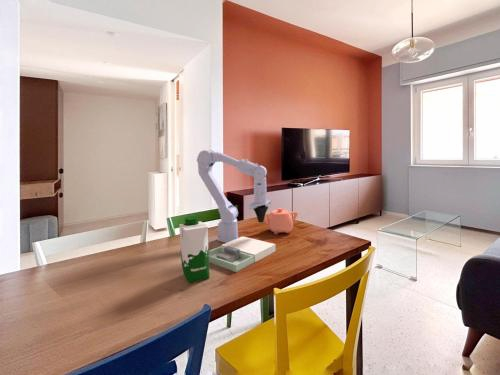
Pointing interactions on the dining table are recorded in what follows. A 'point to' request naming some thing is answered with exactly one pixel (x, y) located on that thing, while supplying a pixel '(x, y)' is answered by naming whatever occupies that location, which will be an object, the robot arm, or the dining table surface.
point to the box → (235, 266)
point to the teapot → (280, 221)
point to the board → (252, 247)
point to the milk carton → (194, 250)
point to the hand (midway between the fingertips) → (260, 221)
